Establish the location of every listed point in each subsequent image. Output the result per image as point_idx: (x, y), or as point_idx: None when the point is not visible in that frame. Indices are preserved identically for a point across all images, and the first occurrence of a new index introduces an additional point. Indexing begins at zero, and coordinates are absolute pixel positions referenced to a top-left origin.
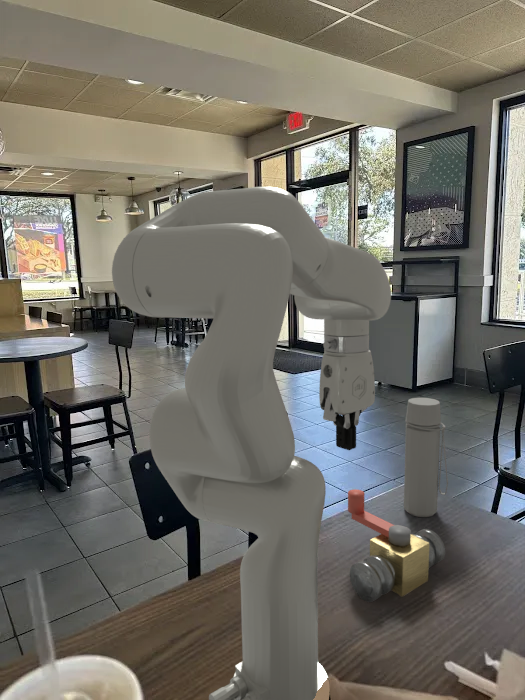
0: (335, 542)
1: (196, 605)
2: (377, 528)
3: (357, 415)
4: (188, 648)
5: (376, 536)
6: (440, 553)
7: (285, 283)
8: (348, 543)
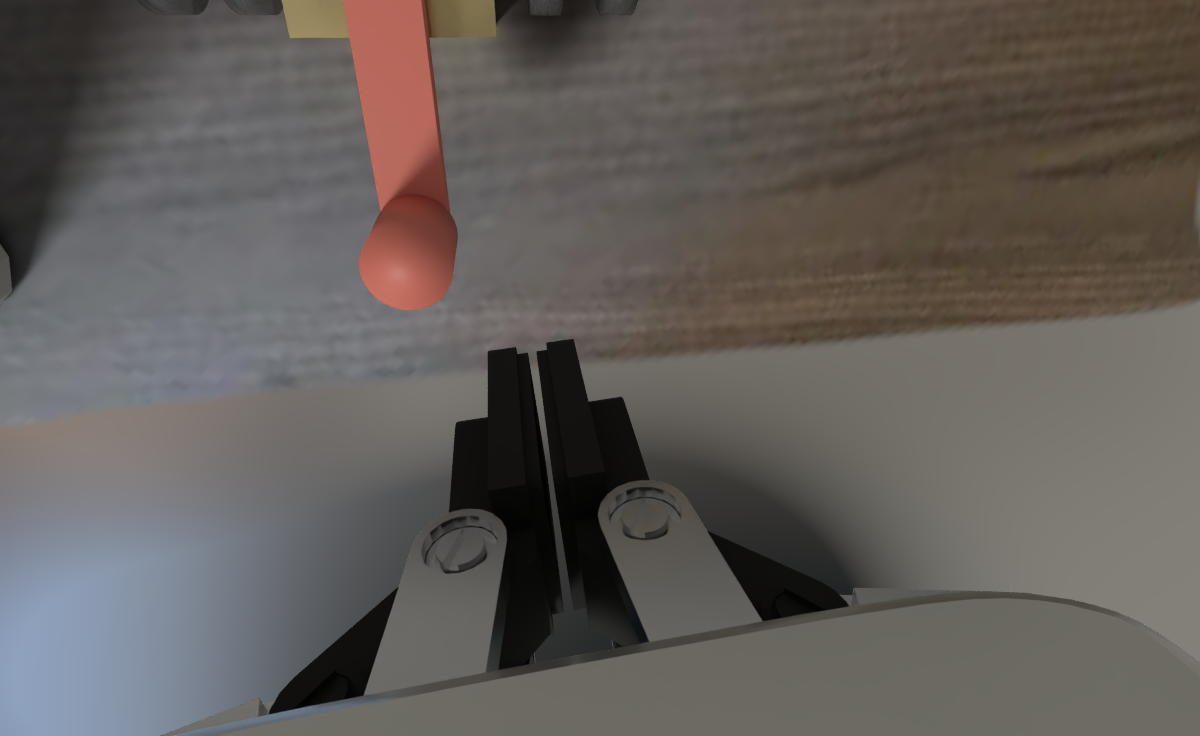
0: None
1: (973, 252)
2: (428, 51)
3: (431, 629)
4: (1109, 118)
5: (449, 36)
6: None
7: None
8: None
